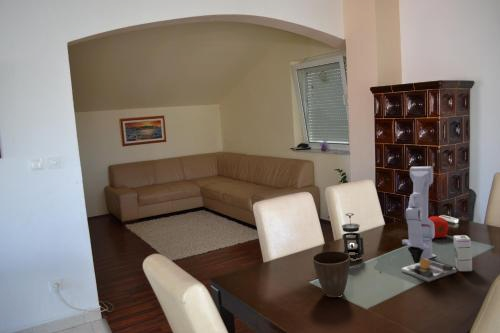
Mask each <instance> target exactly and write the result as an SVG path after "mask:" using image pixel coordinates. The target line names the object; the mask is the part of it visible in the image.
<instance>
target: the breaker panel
mask: <svg viewBox="0 0 500 333" xmlns="http://www.w3.org/2000/svg"><path fill="white" fill-rule="evenodd" d="M429 260H430V268H427V269H424V268H421V267H420V263H414V264H410V265H407V266H404V267H401V269H400V270H401V273H405V274H407V275H410V276H412V277H415V278H418V279H420V280H423V281H425V282H428V283H429V282H432V281H435V280H437V279H440V278H444V277H447V276H449V275H452V274H455V273H457V272H458V269H457V268H456V267H454V266H453V265H451V264H448V263H446V264H443V263H441V262H437V261H435V260H431V259H429Z"/></svg>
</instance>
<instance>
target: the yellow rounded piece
mask: <svg viewBox="0 0 500 333" xmlns="http://www.w3.org/2000/svg"><path fill="white" fill-rule="evenodd" d="M430 260H431V259H425V258H423V259H421V258H420V267H421V268H424V269H427V268H430Z"/></svg>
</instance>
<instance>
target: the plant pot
mask: <svg viewBox="0 0 500 333" xmlns="http://www.w3.org/2000/svg"><path fill="white" fill-rule="evenodd" d="M312 261H313V262H312V263H313V265H314V266H313V267H314V269H315V273H316V277H317V279H318V282H319V285H320V288H321V289H322V292H323V293H324V294H325V293H326V294H329V295H333V296H341V295H343V296H344V294H345V291H346V288H347V282H348V278H349V277H348V276H349V272H350V264H351V263H350V262H351V261H350V256H349V255H348V254H347V253H344V251H338V250H337V251H336V250H331V251H323V252H322V251H321V252H319V253H316V254H314V255H313V256H312Z"/></svg>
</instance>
